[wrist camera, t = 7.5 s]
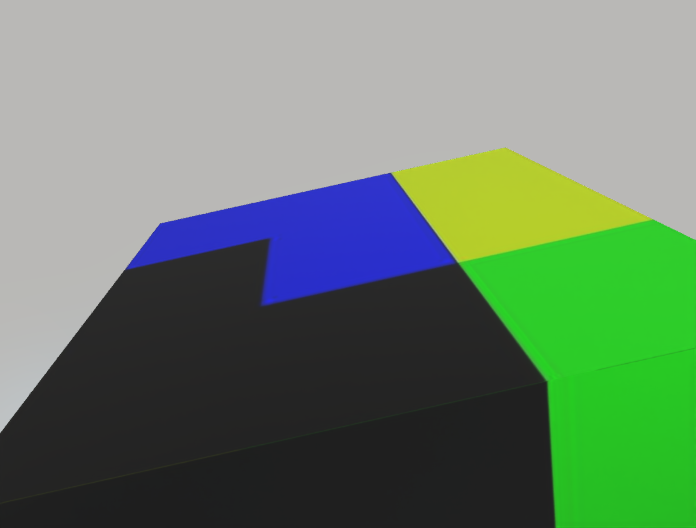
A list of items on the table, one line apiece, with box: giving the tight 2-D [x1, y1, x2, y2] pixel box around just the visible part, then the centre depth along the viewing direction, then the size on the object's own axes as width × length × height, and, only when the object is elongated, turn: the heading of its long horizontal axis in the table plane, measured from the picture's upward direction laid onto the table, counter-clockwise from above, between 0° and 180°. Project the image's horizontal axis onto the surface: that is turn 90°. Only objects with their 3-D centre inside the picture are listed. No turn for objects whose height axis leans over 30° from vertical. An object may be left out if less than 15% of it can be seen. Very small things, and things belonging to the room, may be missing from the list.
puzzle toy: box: [0, 148, 696, 528], centre depth 12 cm, size 10×10×10 cm
